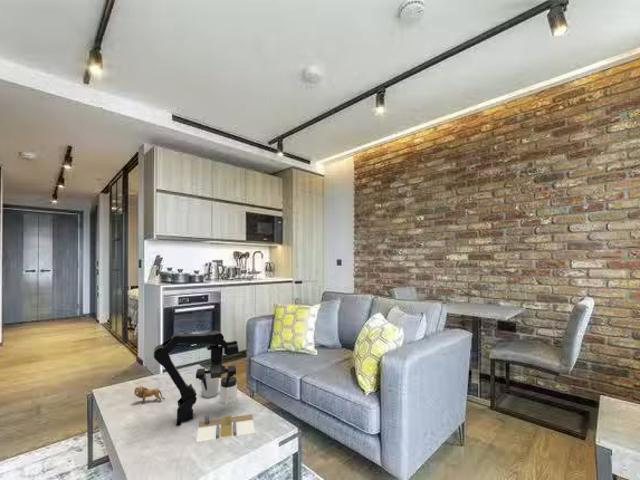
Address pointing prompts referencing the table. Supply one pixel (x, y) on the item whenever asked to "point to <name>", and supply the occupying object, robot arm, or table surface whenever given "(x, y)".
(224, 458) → the table surface
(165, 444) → the table surface
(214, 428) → the door board
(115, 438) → the table surface
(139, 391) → the lion figurine
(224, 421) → the bar
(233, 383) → the jar
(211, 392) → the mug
